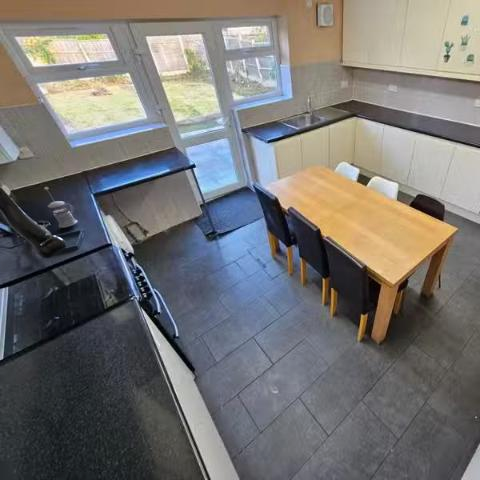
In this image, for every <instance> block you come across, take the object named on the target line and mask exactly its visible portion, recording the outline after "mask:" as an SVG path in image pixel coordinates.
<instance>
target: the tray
mask: <svg viewBox="0 0 480 480" xmlns="http://www.w3.org/2000/svg"><path fill="white" fill-rule="evenodd" d="M85 233H86V231H85V230H84V228H82V229H81V228H80V229H76V230H72V231H68V232H63V233H59V234H56V235H55V236H58V237H60V238H62V239H64V240H65V241H66V243H67V246H66V248H65V249H63V250H62V251H60V252H58V253H57V254H59V253H65V252H69V251H73V250H79V249H80V247H81V245H82V242H83V239H84V237H85ZM64 251H65V252H64Z"/></svg>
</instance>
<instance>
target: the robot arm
mask: <svg viewBox="0 0 480 480" xmlns="http://www.w3.org/2000/svg"><path fill="white" fill-rule="evenodd" d="M0 213H1V214H2V215H3V217H4V219H5V220H6V222H7V223H8V224H9V226H10V227H11V229H13V230H14V231H15V232H16V233H15V236H16V237H17V238H18V239H22V238H24V239H25V240H26V241H28V242H29V244H30V245H31V246H32V247H33V249H34V251H35V252H36V254H37V255H39V256H40V257H41V258H44V259H50V258H52V257H54V256H55V255H57V254H59V253H58V252H60V251H62V250H63V249H65V248H66V246H67V243H66V241H65V240H64V239H62V238H60V237H58V236H56V235H55V234H52V233H51V231H49V229H47V227H51V226H52V224H51V223H50V222H49V221H48V220H37V221H35V220H34V219H33V218H31V217H30V216H29V215H28V214H27V213H25V211H23V209H22V208H21V207H20V206H19V205H18V204H17V203H16V202H15V200H13V199H12V197H11V196H10V195H9V194H8V193H7V192H6V191H5V189H4V188H3V187H2V186H1V185H0ZM60 253H61V252H60Z"/></svg>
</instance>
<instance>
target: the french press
mask: <svg viewBox="0 0 480 480" xmlns="http://www.w3.org/2000/svg"><path fill="white" fill-rule="evenodd" d="M43 189H44V191H47V192H48V193H49V195H50V197H51V200H53V202H50V203H49V204H48V205H47V207H48V208H49V209H54V210H53V211H52V214H53V216H54V218H55V219H56V221H57V222H58V227H59V228H69V227H72V226H74V225H76V224H77V223H78V222H79V221H78V220H77V219H75V217H74V216H73V213H74V212H75V211H74V207H73V206H72V205H71V204H70V203H67V202H66V203H65V201H61V200H57V201H55V200H54V198H53V197H52V195H51V193H50V192H49V187H48V186H45V187H44V188H43ZM67 205H69V207H70V210H71V211H70V210H69V209H68V207H66V206H67ZM63 206H65V207H63Z"/></svg>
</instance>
